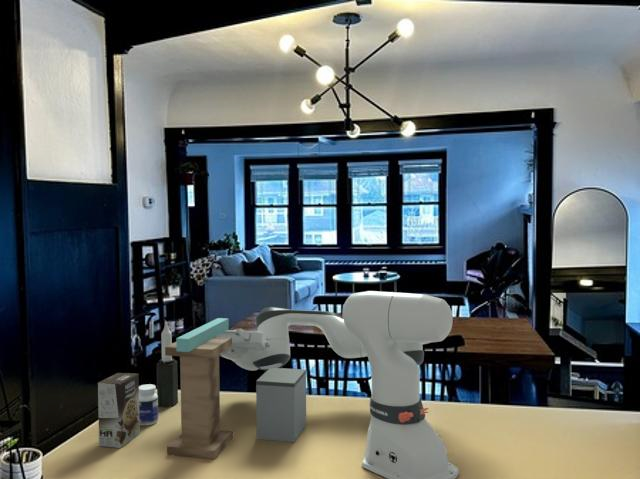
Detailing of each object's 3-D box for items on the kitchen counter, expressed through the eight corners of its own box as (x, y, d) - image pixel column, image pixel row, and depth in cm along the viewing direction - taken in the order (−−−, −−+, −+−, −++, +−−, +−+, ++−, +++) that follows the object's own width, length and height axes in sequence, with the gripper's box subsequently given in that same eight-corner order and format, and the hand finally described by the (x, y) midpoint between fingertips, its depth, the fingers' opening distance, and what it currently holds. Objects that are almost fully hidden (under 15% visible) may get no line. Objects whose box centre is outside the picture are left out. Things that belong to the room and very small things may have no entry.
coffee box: (121, 448, 134) (120, 383, 133) (98, 446, 135) (96, 382, 134) (141, 433, 143) (139, 372, 142) (118, 431, 144) (117, 371, 143)
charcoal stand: (271, 421, 151) (270, 367, 150) (306, 423, 149) (305, 369, 148) (256, 438, 139) (256, 380, 138) (294, 442, 137) (294, 383, 136)
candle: (155, 406, 162) (154, 323, 161) (163, 400, 167) (162, 320, 166) (172, 407, 162) (170, 323, 160) (179, 401, 167) (177, 320, 165)
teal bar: (218, 329, 148) (218, 318, 148) (228, 329, 148) (228, 318, 148) (176, 351, 125) (176, 338, 125) (188, 351, 124) (188, 338, 124)
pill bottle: (132, 425, 148) (131, 389, 148) (142, 417, 154) (141, 383, 153) (152, 426, 147) (151, 390, 147) (161, 418, 153) (161, 383, 152)
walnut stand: (189, 434, 142) (188, 335, 141) (233, 438, 139) (231, 337, 138) (167, 454, 130) (165, 347, 129) (214, 459, 128) (212, 349, 126)
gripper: (270, 357, 157) (256, 343, 145) (204, 354, 161) (185, 340, 149) (273, 336, 160) (260, 321, 148) (208, 333, 164) (190, 318, 152)
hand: (221, 330), depth 148 cm, fingers open, 8 cm apart
